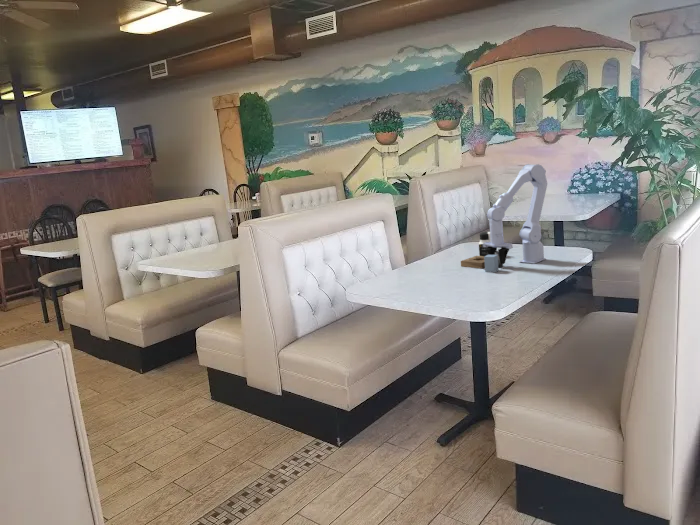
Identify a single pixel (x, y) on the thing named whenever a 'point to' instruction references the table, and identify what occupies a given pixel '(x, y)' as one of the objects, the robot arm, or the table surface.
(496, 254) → the round peg
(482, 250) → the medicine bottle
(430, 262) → the table surface
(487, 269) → the square peg
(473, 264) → the bore block
